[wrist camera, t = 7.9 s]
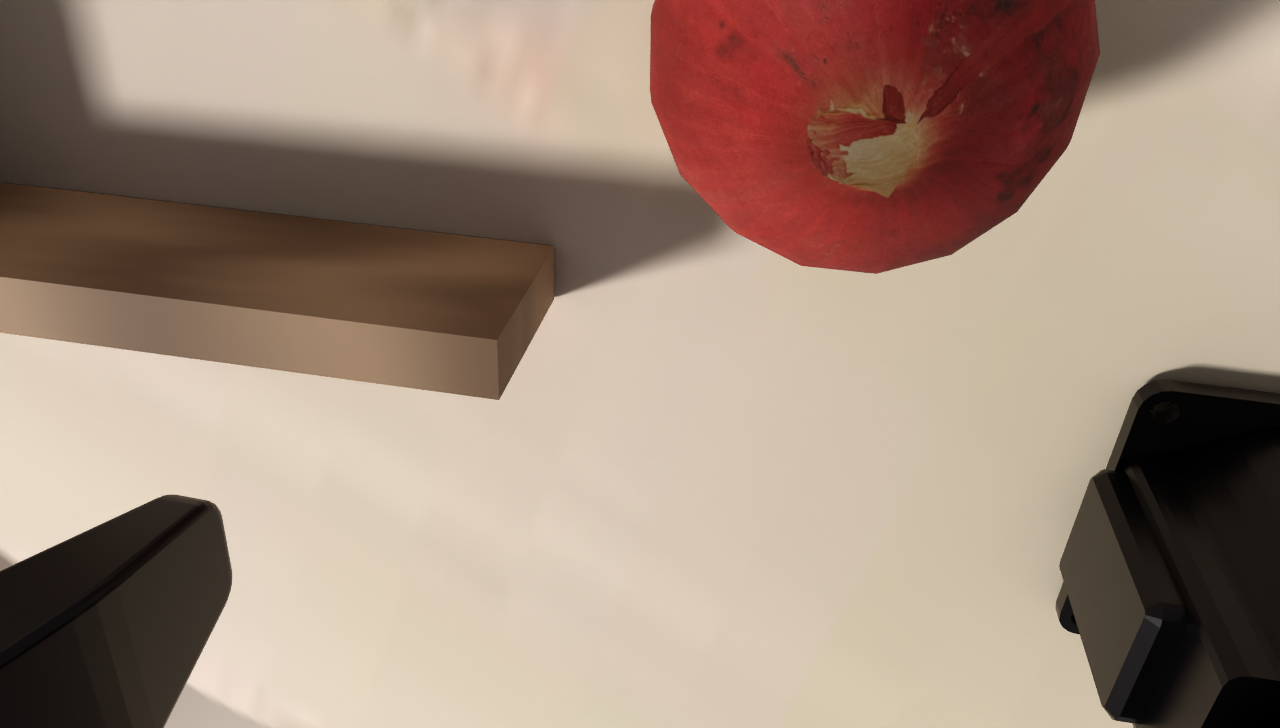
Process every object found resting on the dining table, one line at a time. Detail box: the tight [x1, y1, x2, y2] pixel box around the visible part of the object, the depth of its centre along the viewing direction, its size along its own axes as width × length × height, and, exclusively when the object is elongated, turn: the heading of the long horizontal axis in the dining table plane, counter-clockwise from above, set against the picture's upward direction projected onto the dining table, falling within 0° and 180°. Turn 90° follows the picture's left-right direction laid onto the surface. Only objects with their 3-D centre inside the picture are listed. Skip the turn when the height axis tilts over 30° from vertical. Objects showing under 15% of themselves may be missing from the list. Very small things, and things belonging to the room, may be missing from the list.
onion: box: [650, 0, 1100, 274], centre depth 13 cm, size 6×6×8 cm
